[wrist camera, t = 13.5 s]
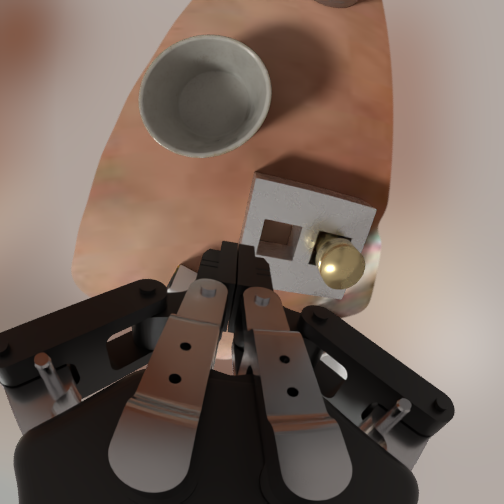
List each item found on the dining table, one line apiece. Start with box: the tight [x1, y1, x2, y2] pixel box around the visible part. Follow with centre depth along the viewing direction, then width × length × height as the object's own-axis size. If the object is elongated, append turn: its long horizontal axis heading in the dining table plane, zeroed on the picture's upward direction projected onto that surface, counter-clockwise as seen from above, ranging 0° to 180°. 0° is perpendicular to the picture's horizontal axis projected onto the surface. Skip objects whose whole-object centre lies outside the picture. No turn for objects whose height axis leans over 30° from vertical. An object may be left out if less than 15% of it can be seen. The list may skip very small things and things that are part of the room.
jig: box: [237, 172, 377, 299], centre depth 36 cm, size 14×16×5 cm
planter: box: [139, 35, 272, 158], centre depth 26 cm, size 13×13×10 cm
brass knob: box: [314, 231, 365, 290], centre depth 34 cm, size 5×5×10 cm
